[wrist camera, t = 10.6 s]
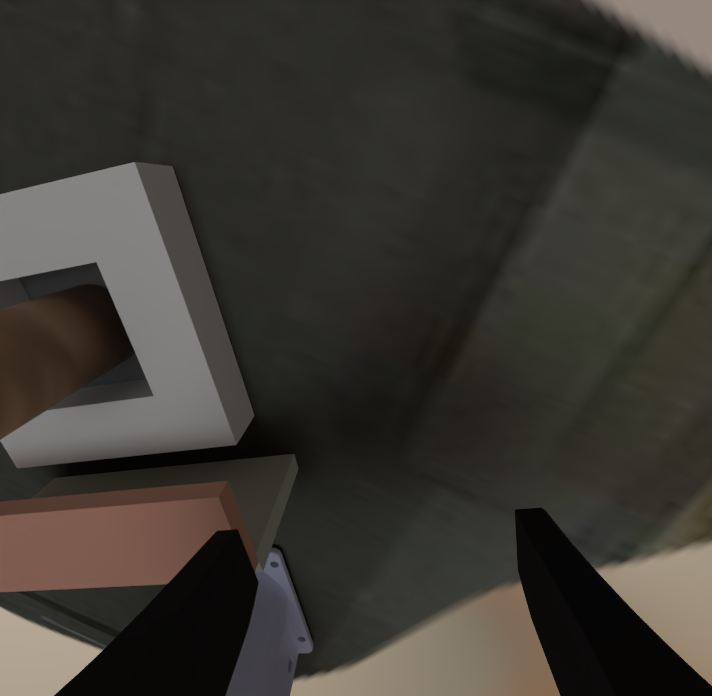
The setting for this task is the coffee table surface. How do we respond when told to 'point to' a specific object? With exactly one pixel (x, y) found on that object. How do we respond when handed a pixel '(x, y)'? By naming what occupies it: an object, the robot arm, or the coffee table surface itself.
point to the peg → (56, 350)
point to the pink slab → (139, 522)
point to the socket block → (125, 317)
